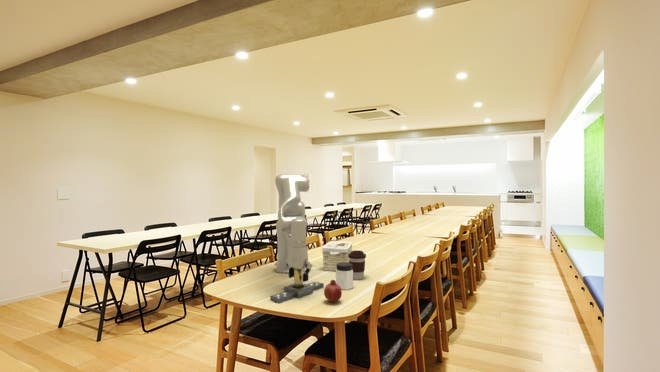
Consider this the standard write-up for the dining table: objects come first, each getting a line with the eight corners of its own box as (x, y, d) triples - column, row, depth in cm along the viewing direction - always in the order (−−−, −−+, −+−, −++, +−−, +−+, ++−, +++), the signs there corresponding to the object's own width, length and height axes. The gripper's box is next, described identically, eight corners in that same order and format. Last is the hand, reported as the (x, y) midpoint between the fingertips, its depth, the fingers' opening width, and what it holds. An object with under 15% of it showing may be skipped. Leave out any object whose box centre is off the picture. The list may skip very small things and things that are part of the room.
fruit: (333, 297, 159) (333, 276, 159) (345, 302, 153) (345, 280, 153) (320, 301, 154) (320, 279, 154) (332, 306, 148) (332, 283, 148)
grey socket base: (267, 299, 157) (267, 292, 157) (312, 284, 180) (312, 278, 180) (282, 304, 150) (282, 296, 150) (326, 288, 173) (326, 281, 173)
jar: (333, 289, 172) (333, 265, 172) (338, 284, 180) (338, 261, 180) (350, 290, 169) (350, 266, 169) (354, 285, 177) (354, 262, 177)
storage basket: (329, 262, 230) (329, 240, 230) (352, 263, 227) (352, 241, 227) (321, 271, 207) (321, 247, 206) (347, 272, 203) (347, 248, 203)
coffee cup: (345, 279, 189) (345, 252, 189) (352, 274, 198) (352, 249, 198) (361, 281, 185) (361, 254, 185) (368, 277, 194) (368, 250, 193)
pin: (292, 293, 165) (292, 268, 165) (298, 291, 168) (298, 267, 168) (298, 295, 162) (298, 270, 162) (304, 293, 165) (304, 268, 165)
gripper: (280, 242, 168) (280, 277, 168) (305, 247, 156) (305, 284, 157) (291, 240, 173) (291, 274, 174) (316, 245, 162) (316, 281, 163)
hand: (298, 279), depth 165 cm, fingers open, 9 cm apart
